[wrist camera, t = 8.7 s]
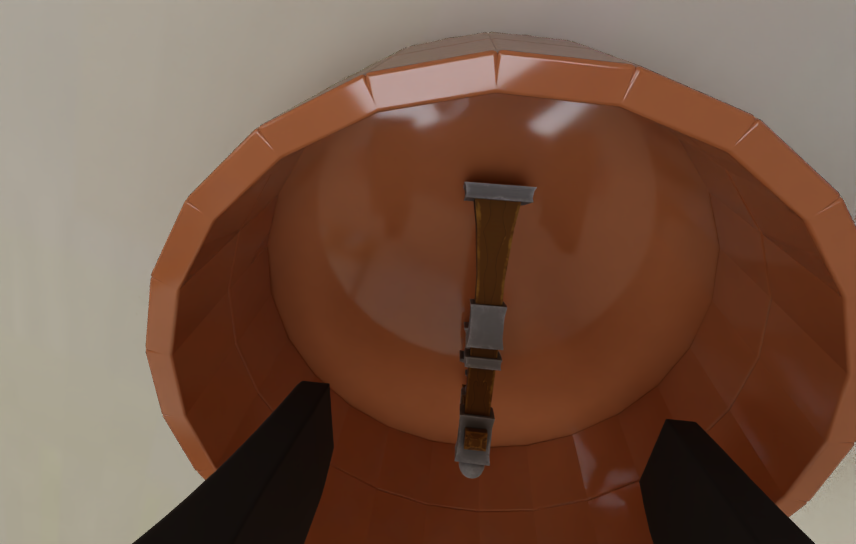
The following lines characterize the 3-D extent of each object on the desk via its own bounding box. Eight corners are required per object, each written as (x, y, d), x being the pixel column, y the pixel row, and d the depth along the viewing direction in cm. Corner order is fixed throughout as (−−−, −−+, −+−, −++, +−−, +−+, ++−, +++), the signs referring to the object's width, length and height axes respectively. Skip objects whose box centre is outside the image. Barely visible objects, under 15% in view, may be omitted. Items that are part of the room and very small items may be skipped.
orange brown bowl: (832, 68, 12) (1119, 117, 6) (639, 468, 19) (699, 640, 14) (232, 2, 12) (50, -1, 7) (273, 419, 20) (201, 568, 14)
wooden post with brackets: (441, 419, 17) (436, 490, 12) (461, 193, 16) (464, 180, 12) (492, 425, 17) (506, 497, 12) (514, 197, 16) (539, 186, 11)
